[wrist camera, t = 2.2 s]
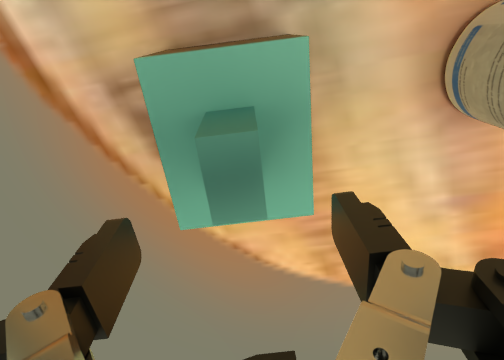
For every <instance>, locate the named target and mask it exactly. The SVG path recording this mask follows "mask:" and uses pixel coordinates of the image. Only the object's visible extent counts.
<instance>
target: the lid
mask: <svg viewBox="0 0 504 360" xmlns="http://www.w3.org/2000/svg"><path fill="white" fill-rule="evenodd" d="M134 63H135V66H136V70H137V74H138V77H139V81H140V85H141V88H142V92H143V96H144V99H145V103H146V107H147V110H148V114H149V117H150V121H151V125H152V128H153V132H154V136H155V139H156V143H157V147H158V150H159V154H160V158H161V161H162V165H163V169H164V172H165V176H166V180H167V183H168V187H169V190H170V194H171V198H172V201H173V205H174V209H175V212H176V216H177V220H178V223H179V227H180V230H186V229H195V228H203V227H212V226H221V225H230V224H238V223H247V222H256V221H264V220H273V219H282V218H290V217H299V216H308V215H314V205H313V170H312V134H311V98H310V62H309V36H301V37H293V38H285V39H278V40H270V41H262V42H254V43H247V44H239V45H231V46H223V47H216V48H208V49H200V50H192V51H185V52H177V53H169V54H162V55H154V56H146V57H139V58H135V59H134Z"/></svg>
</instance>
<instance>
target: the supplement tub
mask: <svg viewBox="0 0 504 360" xmlns="http://www.w3.org/2000/svg"><path fill="white" fill-rule="evenodd" d="M445 86H446V90H447V94H448V96H449V99H450V101H451V102H452V104H453V105H454V106H455V107H456V108H457V109H458V110H459V111H460V112H462V113H463V114H465V115H467V116H469V117H472V118H475V119H477V120H480V121H483V122H486V123H489V124H491V125H494V126H497V127H500V128H503V129H504V0H502V1H500V2H498V3H496V4H494V5H492V6H490V7H489V8H487V9H486V10H484V11H483V12H482V13H480V14H479V15H478V16H477V17H476V18H475V19H474V20H473V21H472V22H471V23H470V24H469V25H468V26H467V27H466V28H465V29H464V31H463V32H462V34H461V35H460V37H459V38H458V40H457V41H456V43H455V45H454V47H453V48H452V50H451V53H450V55H449V58H448V61H447V65H446V70H445Z"/></svg>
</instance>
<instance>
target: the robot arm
mask: <svg viewBox="0 0 504 360" xmlns="http://www.w3.org/2000/svg"><path fill="white" fill-rule="evenodd" d="M332 235H333V239H334V242H335V245H336V247H337V249H338V251H339V253H340V256H341V258H342V260H343V262H344V265H345V267H346V269H347V271H348V274H349V276H350V278H351V280H352V282H353V285H354V287H355V289H356V291H357V294H358V296H359V298H360V300H361V304H360V306H359V308H358V310H357V313H356V315H355V317H354V320H353V322H352V324H351V326H350V328H349V330H348V333H347V335H346V338H345V339H344V342H343V344H342V346H341V348H340V351H339V353H338V355H337V357H336V360H424V357H425V353H426V348H427V343H433V344H438V345H444V346H449V347H454V348H459V349H461V350H462V352H463V353H464V355H465V356H466V358H467V359H468V360H504V259H497V258H488V259H483V260H481V261H479V262H478V263H477V264H476V266H475V269H474V272H470V271H461V270H453V269H446V268H441V267H440V266H439V264H438V263H437V262H436V261H435V260H434V259H433V258H431V257H430V256H428V255H426V254H424V253H422V252H419V251H415V250H412V249H411V248H410V247H409V245H408V244H407V243H406V242H405V240H404V239H403V238H402V237H401V235H400V234H399V233H398V232H397V230H396V229H395V228H394V226H392V224H391V223H390V221H389V220H388V219H386V216H385V215H384V214H383V213H382V211H381V210H380V209H379V208H377V207H376V206H374V205H372V204H370V203H369V202H367V203H361V202H360V201H359V199H358V198H357V196H356V195H355V194H354V192H352V191H351V192H343V193H334V194H332ZM140 263H141V249H140V246H139V244H138V241H137V238H136V235H135V232H134V230H133V227H132V224H131V222H130V220H129V219H128V218H121V219H112V220H107V221H106V222H105V223H104V224H103V226H102V227H101V228H100V230H99V231H98V233H97V234H94V235H93V236H91V237H90V238H89V239H88V240H86V241H85V242H84V243H82V245H81V246H80V248H79V249H78V250H77V252H76V253H75V255H73V257H72V258H71V259H70V261H69V263H68V264H67V265H66V266H65V267H64V269H63V270H62V271H61V273H60V274H59V275H58V277H57V278H56V279H55V281H54V282H53V283H52V285H51V286H50V287H49V289H48V290H46V291H42V292H38V293H36V294H33V295H32V296H29V297H28V298H26V299H25V300H23V301H21V302H20V303H19V304H18V305H16V306H15V307H14V308H13V309H12V310H11V312H10V313H9V314H8V316H7V318H6V319H5V320H2V321H0V360H95V359H94V356H93V353H92V351H91V349H90V346H91V344H92V342H93V340H98V339H107V338H109V335H110V333H111V331H112V329H113V326H114V324H115V322H116V319H117V317H118V315H119V312H120V310H121V307H122V305H123V303H124V301H125V299H126V296H127V294H128V292H129V289H130V287H131V285H132V282H133V280H134V278H135V275H136V273H137V271H138V268H139V266H140ZM244 360H296V355H295V351H287V352H278V353H268V354H259V355H255V356H252V357H249V358H247V359H244Z"/></svg>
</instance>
